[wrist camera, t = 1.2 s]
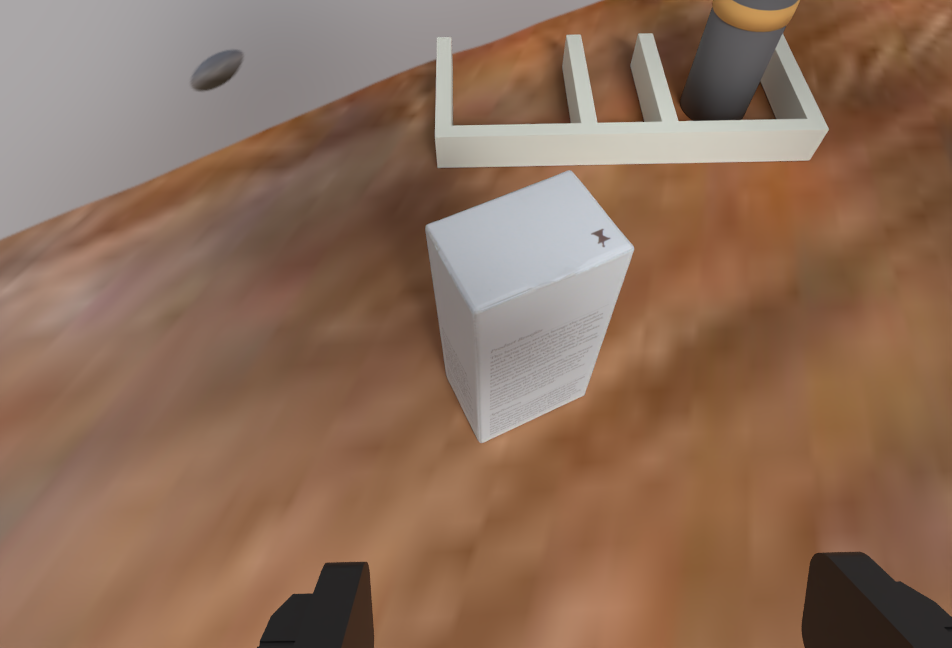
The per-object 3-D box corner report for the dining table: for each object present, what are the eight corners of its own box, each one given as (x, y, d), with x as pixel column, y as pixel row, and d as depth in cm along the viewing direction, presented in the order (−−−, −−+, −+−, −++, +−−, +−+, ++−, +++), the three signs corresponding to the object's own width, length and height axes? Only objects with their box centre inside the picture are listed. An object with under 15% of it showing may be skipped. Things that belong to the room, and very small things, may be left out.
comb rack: (766, 63, 43) (781, 30, 41) (809, 160, 38) (828, 129, 36) (439, 69, 43) (436, 37, 41) (437, 168, 38) (434, 137, 36)
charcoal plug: (737, 83, 42) (803, -69, 33) (754, 127, 40) (830, -25, 31) (672, 84, 42) (722, -68, 33) (686, 128, 40) (743, -23, 31)
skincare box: (544, 331, 32) (575, 164, 21) (585, 397, 30) (642, 248, 19) (440, 375, 30) (420, 221, 20) (477, 448, 28) (475, 317, 18)
